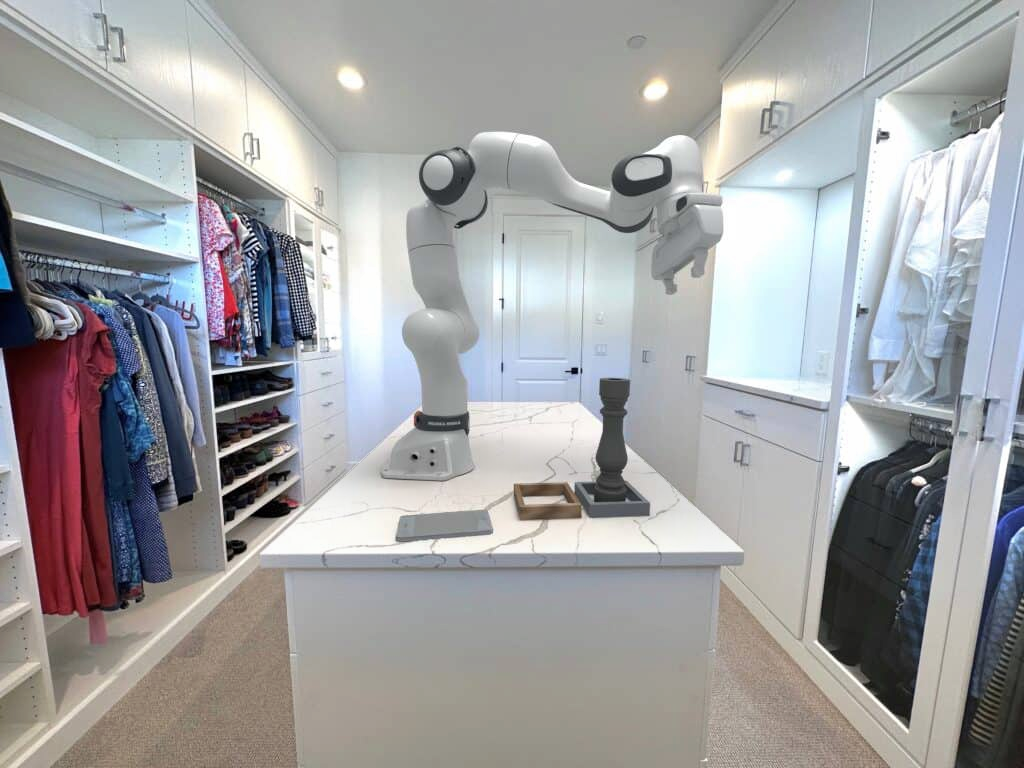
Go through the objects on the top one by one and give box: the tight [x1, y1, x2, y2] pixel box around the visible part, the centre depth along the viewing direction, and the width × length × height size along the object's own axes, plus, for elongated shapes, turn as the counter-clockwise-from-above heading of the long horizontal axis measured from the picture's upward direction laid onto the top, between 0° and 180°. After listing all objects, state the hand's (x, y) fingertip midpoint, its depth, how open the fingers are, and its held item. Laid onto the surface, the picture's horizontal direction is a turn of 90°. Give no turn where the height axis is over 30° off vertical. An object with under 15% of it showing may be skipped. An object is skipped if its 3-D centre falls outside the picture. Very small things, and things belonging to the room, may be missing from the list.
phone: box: [395, 509, 494, 543], centre depth 69 cm, size 8×16×1 cm, turn 101°
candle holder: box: [593, 377, 631, 502], centre depth 77 cm, size 6×6×25 cm
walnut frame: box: [513, 481, 583, 521], centre depth 78 cm, size 11×11×2 cm
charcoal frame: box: [573, 480, 651, 519], centre depth 79 cm, size 11×11×2 cm
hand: (683, 285), depth 78 cm, fingers open, 8 cm apart
